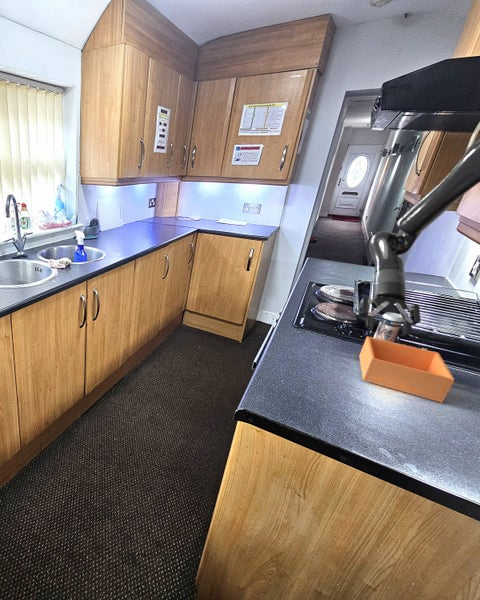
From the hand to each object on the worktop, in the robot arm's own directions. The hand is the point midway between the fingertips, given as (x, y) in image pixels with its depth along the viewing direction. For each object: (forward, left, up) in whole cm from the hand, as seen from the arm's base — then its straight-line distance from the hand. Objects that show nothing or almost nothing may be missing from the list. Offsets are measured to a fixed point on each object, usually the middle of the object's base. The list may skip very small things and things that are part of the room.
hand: (388, 332), depth 100 cm
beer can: (0, -1, -7) cm, 7 cm away
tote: (-2, +16, -6) cm, 17 cm away
